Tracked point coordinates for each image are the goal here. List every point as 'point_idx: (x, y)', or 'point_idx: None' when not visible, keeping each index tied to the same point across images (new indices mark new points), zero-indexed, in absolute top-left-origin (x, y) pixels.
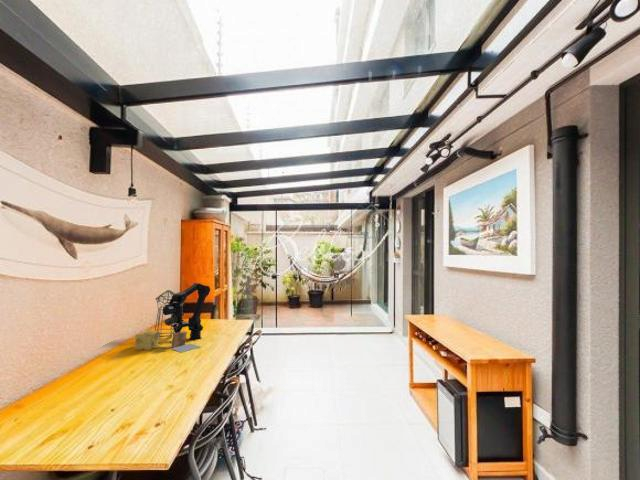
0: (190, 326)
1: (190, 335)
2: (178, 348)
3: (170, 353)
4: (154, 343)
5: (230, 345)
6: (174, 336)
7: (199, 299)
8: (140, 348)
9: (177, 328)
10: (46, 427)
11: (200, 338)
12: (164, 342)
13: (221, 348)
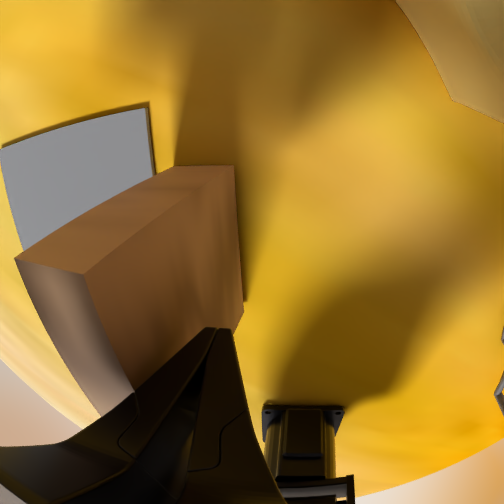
0: None
1: (314, 434)
2: (92, 179)
3: (34, 61)
4: (429, 5)
5: (34, 385)
6: (81, 233)
7: None
8: None
9: (73, 453)
10: None
11: (262, 433)
12: (481, 230)
13: (4, 341)
